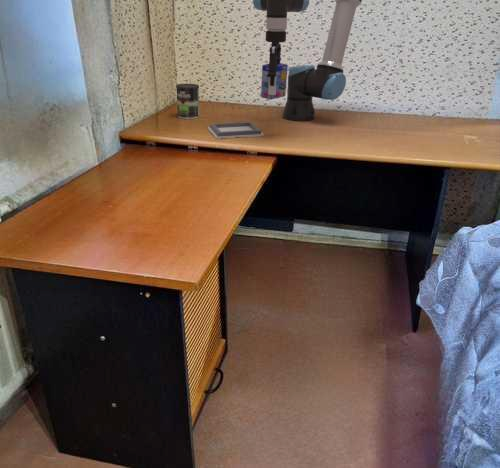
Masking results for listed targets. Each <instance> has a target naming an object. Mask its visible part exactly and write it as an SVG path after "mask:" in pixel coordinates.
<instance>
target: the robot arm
mask: <svg viewBox="0 0 500 468" xmlns="http://www.w3.org/2000/svg"><path fill="white" fill-rule="evenodd" d="M362 1H363V0H334V2H335V6H334V7H335V8H334V12H333V16H332V18H331V19H332V20H331V24H330V28H329V31H328V36H327V40H326V44H325V48H324V51H323V55H322V59H321V61H320V62H319V63H318V64H317V66H316V67H315V65H312V64H310V65H309V64H308V65H306V64H305V65H298V66H297V65H296V66H290V68H289V69H288V73H287V90H286V92H287V97H286V102H285V106H284V108H283V109H282V118H283V119H286V120H288V121H289V120H290V121H297V122H302V121H303V122H305V121H306V122H307V121H312V120H314V119H315V117H316V112H315V108H314V103H313V98H317V99H322V100H326V101H335V100H337V99H338V98H339V97H341V95H342V94H343V93H344V91H345V88H346V83H347V79H346V75H345V74H344V71H345V70H344V67H343V66H342V64H343V61H344V57H345V52H346V50H347V46H348V45H347V44H348V40H349V37H350V33H351V29H352V25H353V21H354V17H355V14H356V10H357V8H358V7H359V6H361V5H362ZM252 4H253V6H254V9H256V10H258V11H263V12H266V15H265V16H266V19H265V20H264V23H265V29H266V31H265V41H266V42H267V43H271V46H270V47H269V62H268V64H269V73H268V74H267V77H269V88H268V95H276V69H277V62H278V61H279V60H278V59H279V58H281V57H282V56H281V52H282V45H281V43H285V42H286V41H287V31H286V30H287V27H288V26H287V25H288V23H287V22H288V13H300V12H305V11H306V10H307V9H308V7H309V4H310V0H252Z"/></svg>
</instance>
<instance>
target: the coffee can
mask: <svg viewBox="0 0 500 468" xmlns="http://www.w3.org/2000/svg"><path fill="white" fill-rule="evenodd" d="M175 88H176V105H177V118H179V119H183V120H195V119H199V118H200V85H199V84H196V83H179V84H176V85H175Z"/></svg>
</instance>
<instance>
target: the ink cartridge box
mask: <svg viewBox="0 0 500 468" xmlns="http://www.w3.org/2000/svg"><path fill="white" fill-rule="evenodd" d="M278 60H279V61H278V62H277V69H276V95H268V88H269V77H267V74H268V73H269V63H267V64H263V65H261V66H262V67H261V68H262V69H261V84H260V85H261V88H260V89H261V90H260V91H261V92H260V97H261V98H262V99H267V100H270V101H271V100H274V99H279V98H283V97H286V92H287V83H288V66H289V65H288V64H286V63H283V62H281V60H282V57H280V58H279V59H278Z"/></svg>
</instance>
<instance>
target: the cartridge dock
mask: <svg viewBox="0 0 500 468" xmlns="http://www.w3.org/2000/svg"><path fill="white" fill-rule="evenodd" d="M207 130H208V131H209V132H210V133H212V134H213V135H212V134H211V135H212V136H213V137H214V138H216V140H222V139H221V138H227V139H236V138H235V137H243V138H254V137H255V138H257V137H265V134H264V133H263V132H262V129H260V128H259V126H257V125H256V124H255V123H253V122H252V121H239V122H236V121H235V122H221V123H220V122H218V123H210V124H209V126H207Z"/></svg>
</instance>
